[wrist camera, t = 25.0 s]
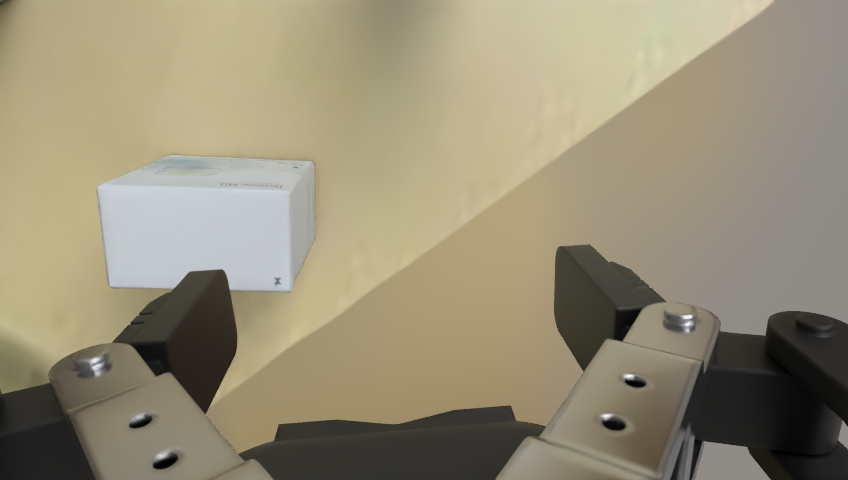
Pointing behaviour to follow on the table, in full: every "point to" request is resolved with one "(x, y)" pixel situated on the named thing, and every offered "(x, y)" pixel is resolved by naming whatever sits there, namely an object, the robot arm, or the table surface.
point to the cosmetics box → (209, 222)
